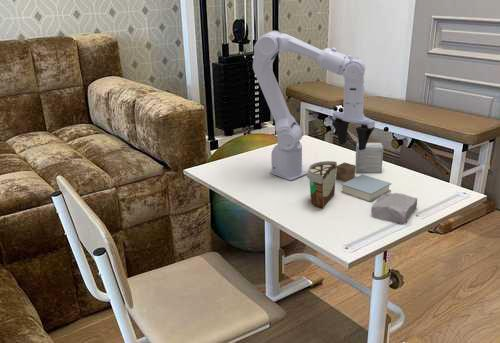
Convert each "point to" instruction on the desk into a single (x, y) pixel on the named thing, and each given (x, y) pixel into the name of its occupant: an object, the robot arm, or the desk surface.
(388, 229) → the desk surface
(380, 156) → the medicine box
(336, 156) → the desk surface
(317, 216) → the desk surface
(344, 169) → the walnut block
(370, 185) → the book
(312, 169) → the food container
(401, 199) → the stone block
